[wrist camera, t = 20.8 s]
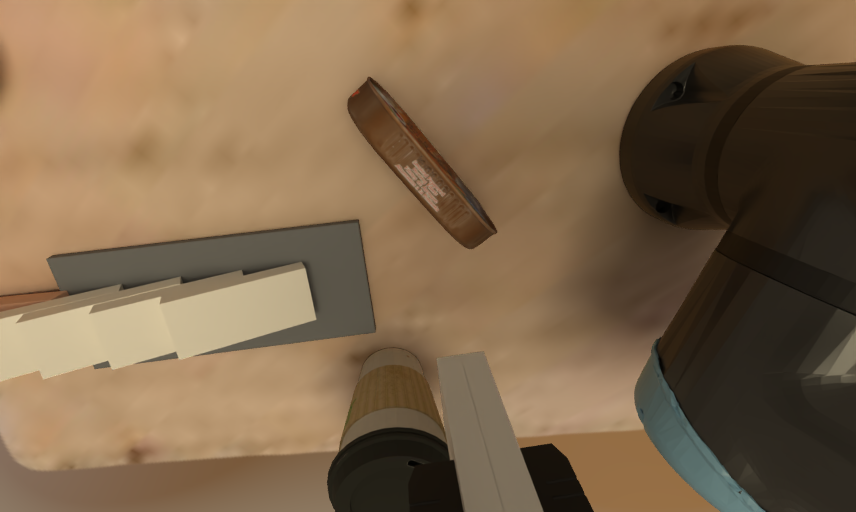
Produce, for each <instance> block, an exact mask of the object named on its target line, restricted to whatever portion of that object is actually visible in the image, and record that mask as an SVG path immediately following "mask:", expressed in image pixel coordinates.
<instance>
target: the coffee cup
mask: <svg viewBox="0 0 856 512" xmlns="http://www.w3.org/2000/svg"><path fill="white" fill-rule="evenodd" d="M448 460H450V456H449V450H448V445H447V439H446V433H445V430H444V427H443V424H442V421H441V418H440V416H439V413H438V410H437V407H436V404H435V401H434V398H433V395H432V393H431V390H430V387H429V384H428V383H427V381H426V379H425V377H424V374H423V371H422V368H421V365H420V363H419V361H418V359H417V358H416V357H415V356H414V355H413V354H411V353H410V352H408V351H406V350H403V349H399V348H386V349H382V350H379V351H377V352H375V353H374V354H372V355H371V356H370V357H369V358H368V359H367V360H366V361H365V363H364V364H363V367H362V370H361V374H360V377H359V381H358V384H357V386H356V388H355V391H354V394H353V398H352V402H351V405H350V409H349V412H348V416H347V420H346V423H345V427H344V430H343V434H342V437H341V441H340V447H339V453H338V454H337V456H336V457H335V459H334V460H333V462H332V464H331V467H330V469H329V472H328V480H327V485H328V493H329V498H330V501H331V503H332V506H333V508H334V509H335V512H410V511H409V493H408V482H409V480H410V477H411V475H412V472H413V470H414V467H415V465H421V464H428V463H435V462H441V461H448Z"/></svg>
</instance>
